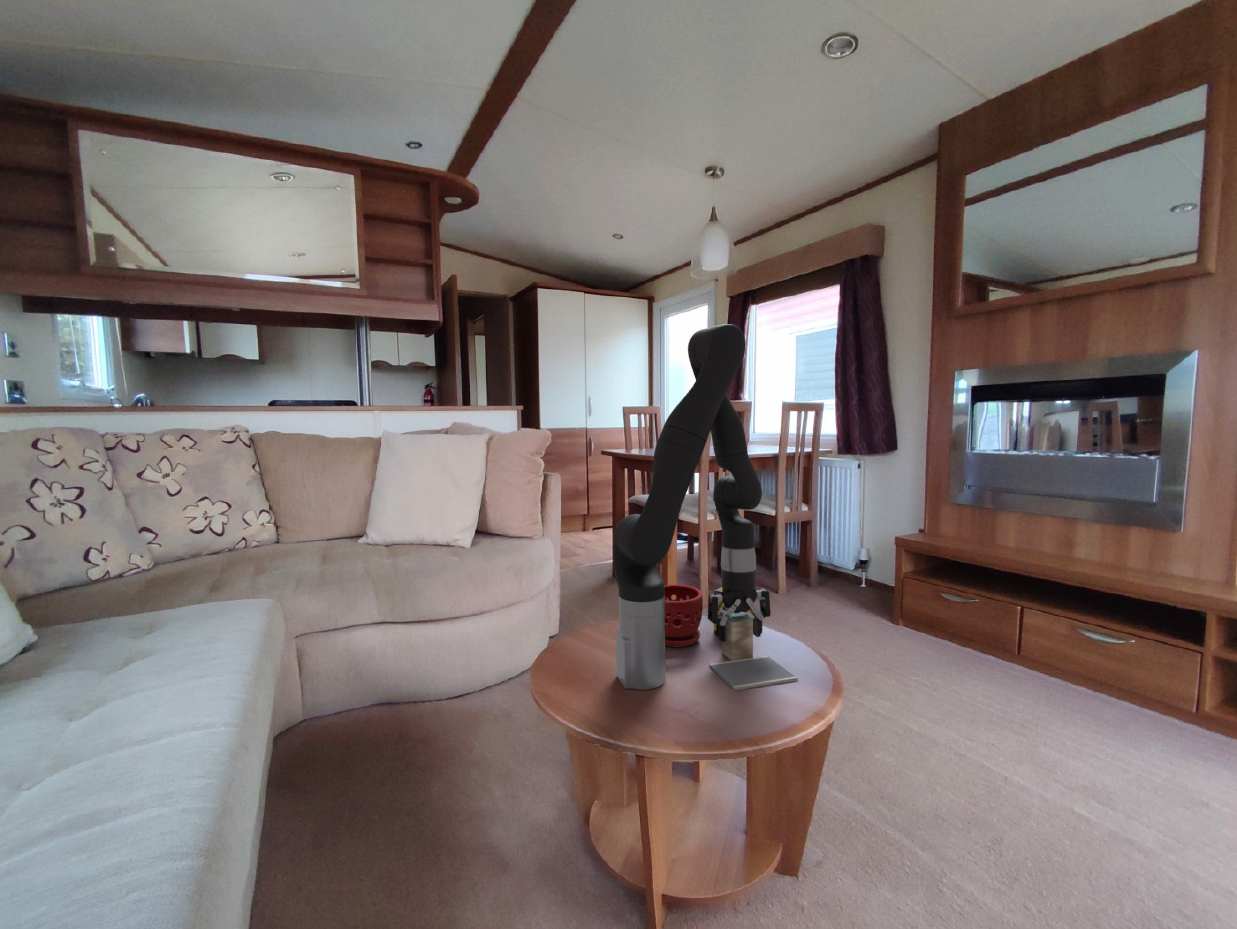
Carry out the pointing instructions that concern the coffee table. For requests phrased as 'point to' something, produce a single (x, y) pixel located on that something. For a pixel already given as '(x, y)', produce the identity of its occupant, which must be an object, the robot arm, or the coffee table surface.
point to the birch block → (738, 637)
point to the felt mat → (752, 672)
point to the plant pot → (682, 615)
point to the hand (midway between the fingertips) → (739, 638)
